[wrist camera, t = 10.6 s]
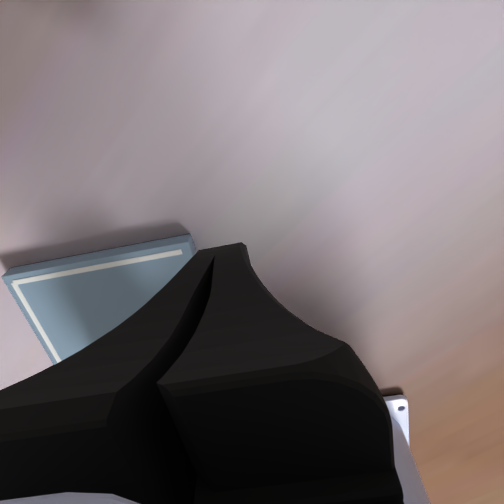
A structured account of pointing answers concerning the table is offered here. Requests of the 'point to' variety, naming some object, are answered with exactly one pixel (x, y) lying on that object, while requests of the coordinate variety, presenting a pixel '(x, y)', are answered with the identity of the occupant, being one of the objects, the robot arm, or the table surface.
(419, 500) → the robot arm
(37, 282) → the blueprint board
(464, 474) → the table surface
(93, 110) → the table surface
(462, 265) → the table surface
